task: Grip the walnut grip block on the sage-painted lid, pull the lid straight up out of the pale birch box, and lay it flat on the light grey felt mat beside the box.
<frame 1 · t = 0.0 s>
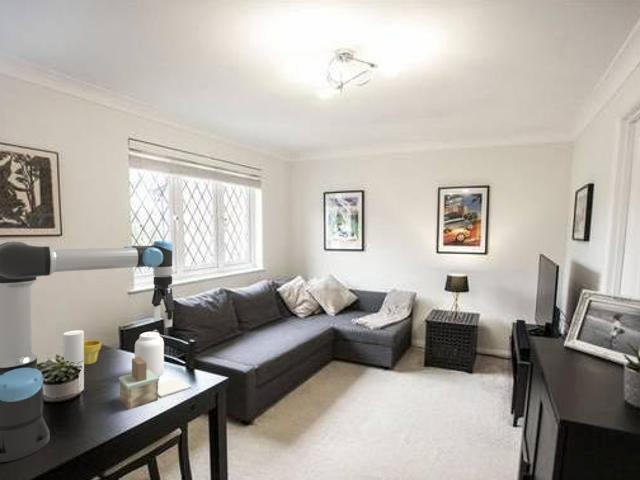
hand: (162, 323, 154), 28 cm above the table, fingers open, 13 cm apart
plant pot: (89, 362, 180), on the table
white jar: (149, 375, 165), on the table
felt mat: (170, 387, 153), on the table
storage box: (138, 399, 142), on the table
cylindrical container: (73, 390, 149), on the table
lid: (139, 384, 142), point 6 cm above the table, touching storage box
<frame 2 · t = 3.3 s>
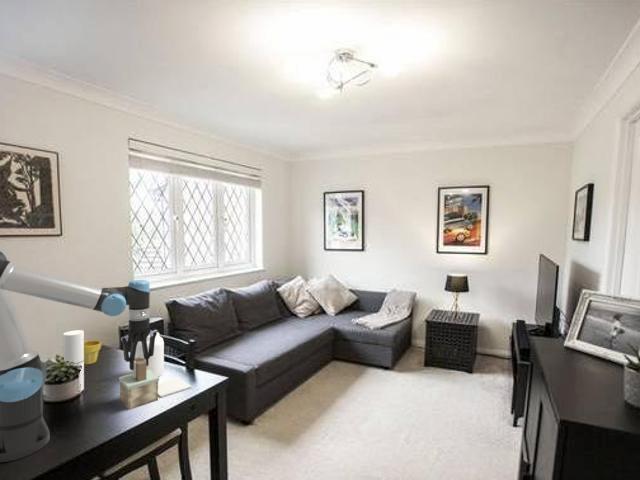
hand: (139, 375, 141), 10 cm above the table, fingers closed on lid, 3 cm apart
lid: (139, 384, 142), point 7 cm above the table, touching gripper, storage box
everything else where it was.
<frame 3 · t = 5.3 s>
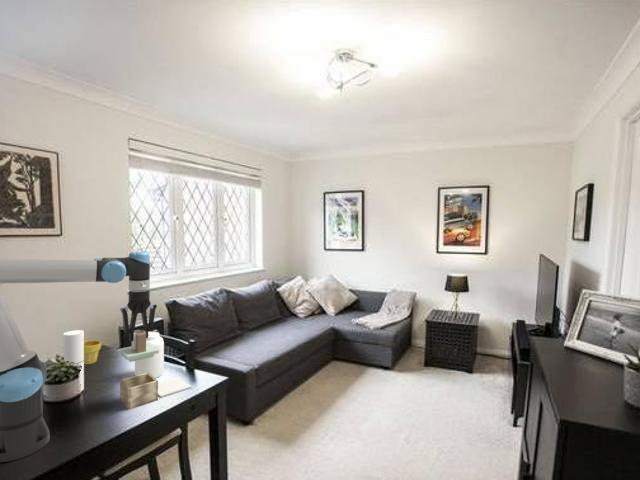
hand: (138, 347, 141), 22 cm above the table, fingers closed on lid, 3 cm apart
lid: (138, 356, 141), point 18 cm above the table, touching gripper
everything else where it was.
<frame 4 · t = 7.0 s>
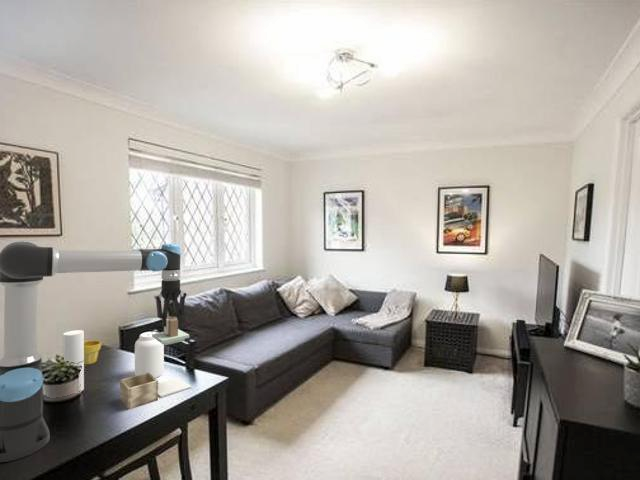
hand: (170, 332, 152), 25 cm above the table, fingers closed on lid, 3 cm apart
lid: (170, 340, 152), point 21 cm above the table, touching gripper
everything else where it was.
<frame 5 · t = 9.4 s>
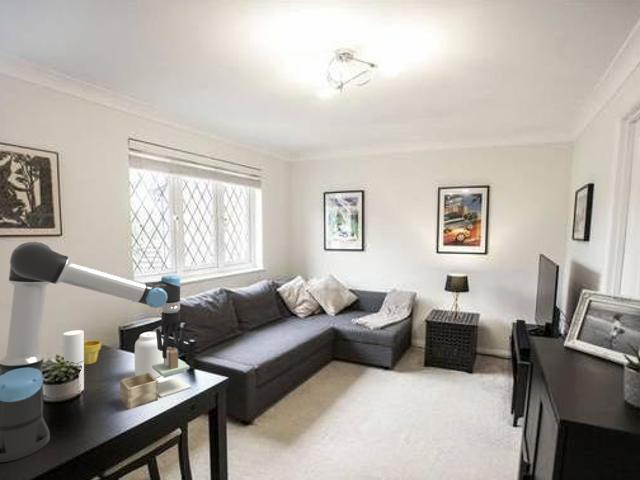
hand: (170, 363, 152), 11 cm above the table, fingers closed on lid, 3 cm apart
lid: (170, 371, 153), point 7 cm above the table, touching gripper
everything else where it was.
when the fingers open (6 cm above the table, at t = 11.0 s): lid drops 2 cm, resting on felt mat.
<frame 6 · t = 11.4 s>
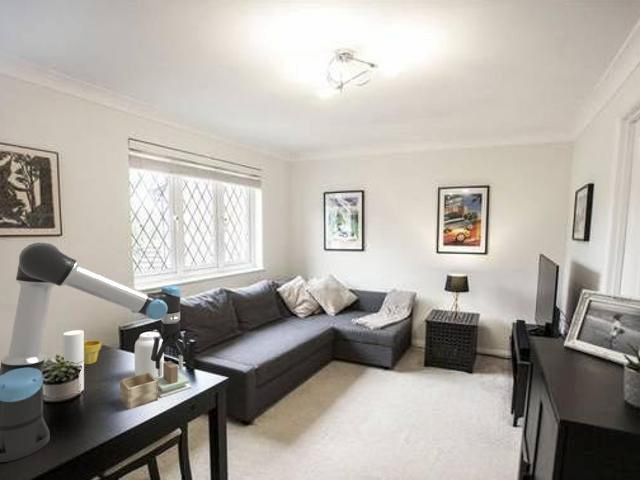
hand: (170, 372, 152), 7 cm above the table, fingers open, 8 cm apart
lid: (170, 386, 153), point 1 cm above the table, touching felt mat
everything else where it was.
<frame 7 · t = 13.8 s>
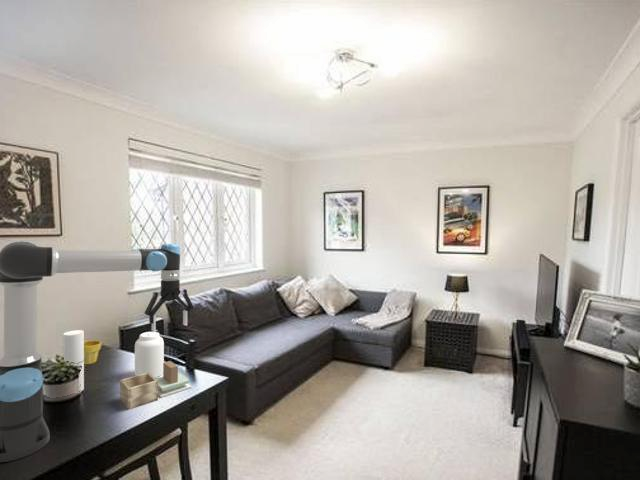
hand: (169, 327, 152), 27 cm above the table, fingers open, 13 cm apart
nothing on the table moved.
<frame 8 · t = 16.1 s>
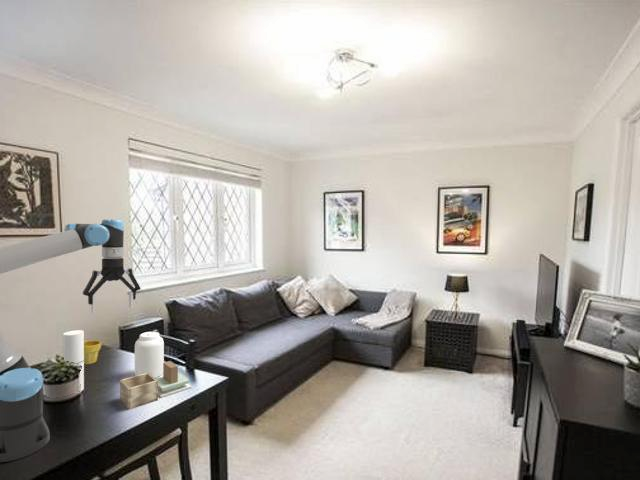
hand: (112, 309, 141), 37 cm above the table, fingers open, 13 cm apart
nothing on the table moved.
at the end: lid inside the target area on the felt mat (0.0 cm from its centre), point 0.8 cm above the felt mat's base; lid tilted 0°; the gripper is holding nothing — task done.
